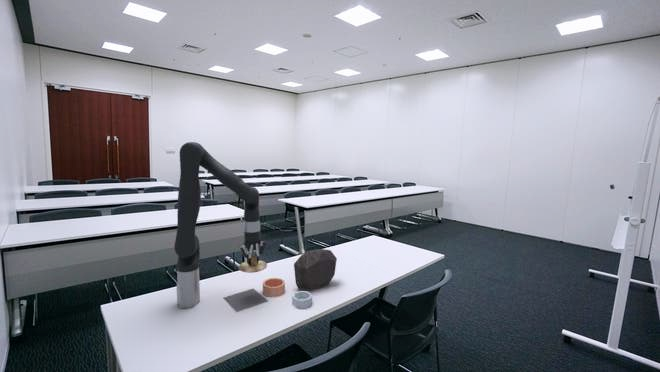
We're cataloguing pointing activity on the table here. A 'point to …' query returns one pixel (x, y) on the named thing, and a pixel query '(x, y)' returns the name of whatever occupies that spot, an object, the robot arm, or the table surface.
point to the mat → (245, 300)
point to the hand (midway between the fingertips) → (253, 264)
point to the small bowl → (302, 299)
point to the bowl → (273, 287)
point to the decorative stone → (315, 269)
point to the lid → (253, 265)
